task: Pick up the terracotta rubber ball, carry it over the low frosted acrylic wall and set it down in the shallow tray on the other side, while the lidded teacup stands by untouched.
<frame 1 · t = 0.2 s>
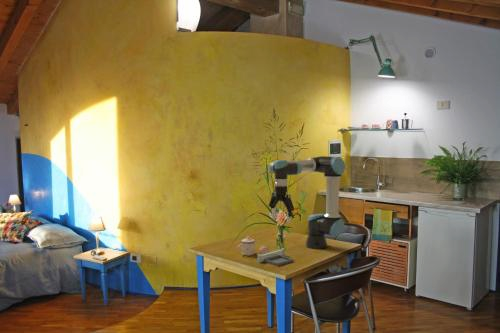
hand: (281, 220, 248), 28 cm above the table, fingers open, 13 cm apart
tray: (278, 261, 256), on the table
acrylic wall: (271, 258, 262), on the table
teacup with lid: (246, 254, 273), on the table
ball: (264, 251, 269), point 3 cm above the table
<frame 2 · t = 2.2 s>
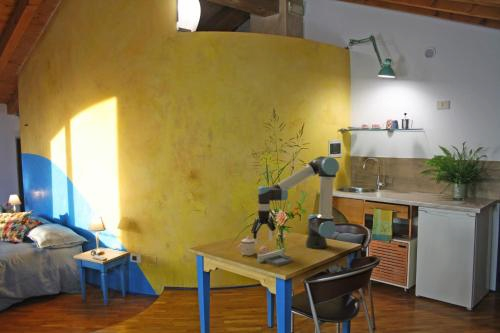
hand: (263, 241, 268), 9 cm above the table, fingers open, 13 cm apart
nothing on the table moved.
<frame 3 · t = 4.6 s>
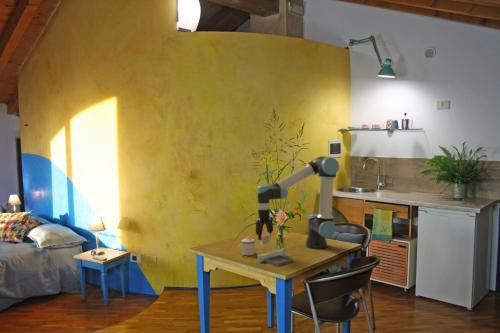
hand: (264, 243, 269), 8 cm above the table, fingers closed on ball, 6 cm apart
ball: (264, 239, 268), point 11 cm above the table, touching gripper
everything else where it was.
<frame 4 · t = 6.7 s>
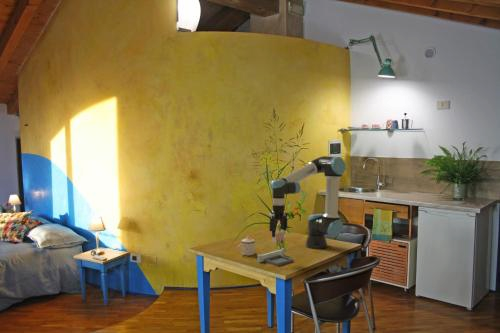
hand: (278, 240, 255), 13 cm above the table, fingers closed on ball, 6 cm apart
ball: (278, 236, 255), point 16 cm above the table, touching gripper
everything else where it was.
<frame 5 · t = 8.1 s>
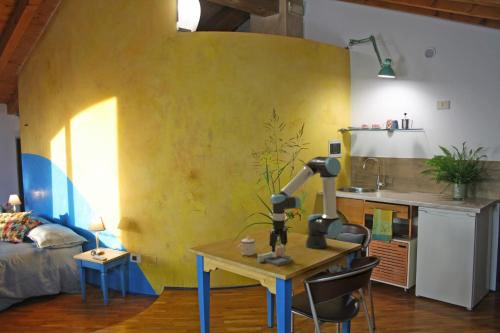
hand: (278, 255, 256), 4 cm above the table, fingers closed on ball, 6 cm apart
ball: (278, 251, 256), point 7 cm above the table, touching gripper
everything else where it was.
when the fingers open (1 cm above the table, at t = 9.0 s): ball stays where it is, resting on tray.
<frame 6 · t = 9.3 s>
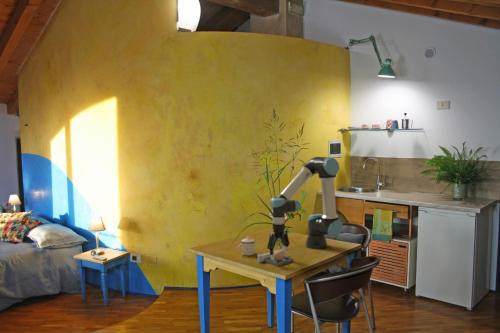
hand: (278, 258, 256), 2 cm above the table, fingers open, 10 cm apart
ball: (278, 256, 256), point 4 cm above the table, touching tray
everything else where it was.
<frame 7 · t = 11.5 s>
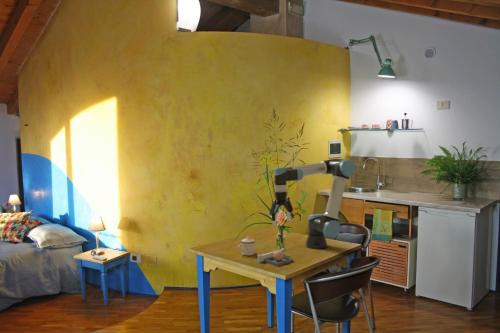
hand: (281, 223, 264), 22 cm above the table, fingers open, 13 cm apart
nothing on the table moved.
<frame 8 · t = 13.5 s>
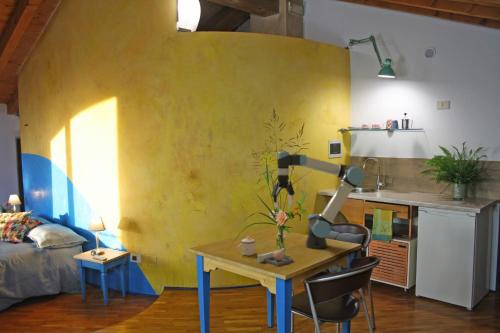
hand: (283, 205, 276), 32 cm above the table, fingers open, 13 cm apart
nothing on the table moved.
at the end: ball inside the target area on the tray (0.1 cm from its centre), point 3.6 cm above the tray's base; the gripper is holding nothing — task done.
